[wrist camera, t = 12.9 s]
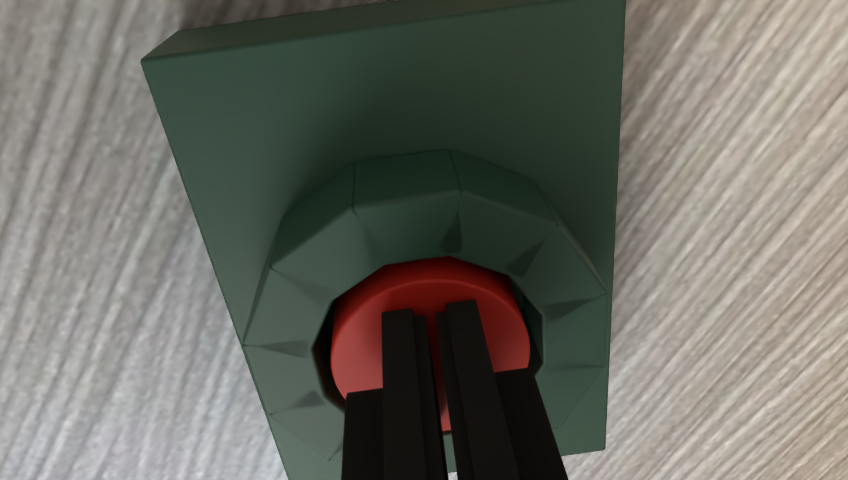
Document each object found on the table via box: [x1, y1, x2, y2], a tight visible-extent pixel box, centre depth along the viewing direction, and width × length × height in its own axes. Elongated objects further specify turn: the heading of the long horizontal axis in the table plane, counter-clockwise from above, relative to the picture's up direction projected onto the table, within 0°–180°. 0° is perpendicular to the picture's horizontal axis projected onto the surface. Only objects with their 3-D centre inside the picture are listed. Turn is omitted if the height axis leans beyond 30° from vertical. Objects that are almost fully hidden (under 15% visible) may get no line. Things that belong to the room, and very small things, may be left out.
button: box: [331, 256, 530, 431], centre depth 12 cm, size 4×4×2 cm
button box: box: [141, 0, 626, 480], centre depth 13 cm, size 11×8×4 cm
